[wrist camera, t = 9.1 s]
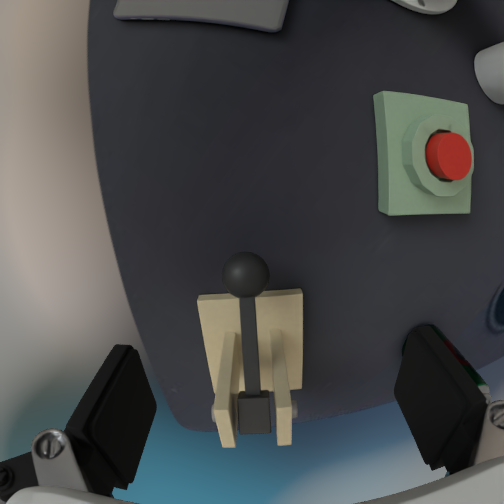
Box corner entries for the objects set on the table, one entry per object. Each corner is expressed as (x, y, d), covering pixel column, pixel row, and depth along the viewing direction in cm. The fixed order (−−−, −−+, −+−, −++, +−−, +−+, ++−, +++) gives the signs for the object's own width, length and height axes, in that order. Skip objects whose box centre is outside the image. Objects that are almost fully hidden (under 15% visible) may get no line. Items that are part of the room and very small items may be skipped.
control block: (372, 95, 21) (392, 86, 17) (454, 106, 21) (479, 102, 17) (378, 210, 24) (398, 220, 20) (456, 208, 24) (481, 217, 20)
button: (424, 131, 19) (436, 130, 17) (458, 135, 19) (471, 135, 17) (426, 177, 20) (438, 179, 18) (459, 179, 20) (472, 181, 18)
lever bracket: (198, 294, 27) (171, 372, 16) (300, 288, 26) (326, 364, 16) (215, 386, 30) (203, 468, 20) (300, 381, 30) (315, 463, 19)
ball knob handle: (224, 258, 24) (217, 248, 21) (267, 255, 24) (267, 244, 20) (234, 422, 21) (230, 437, 18) (278, 420, 21) (280, 435, 18)
